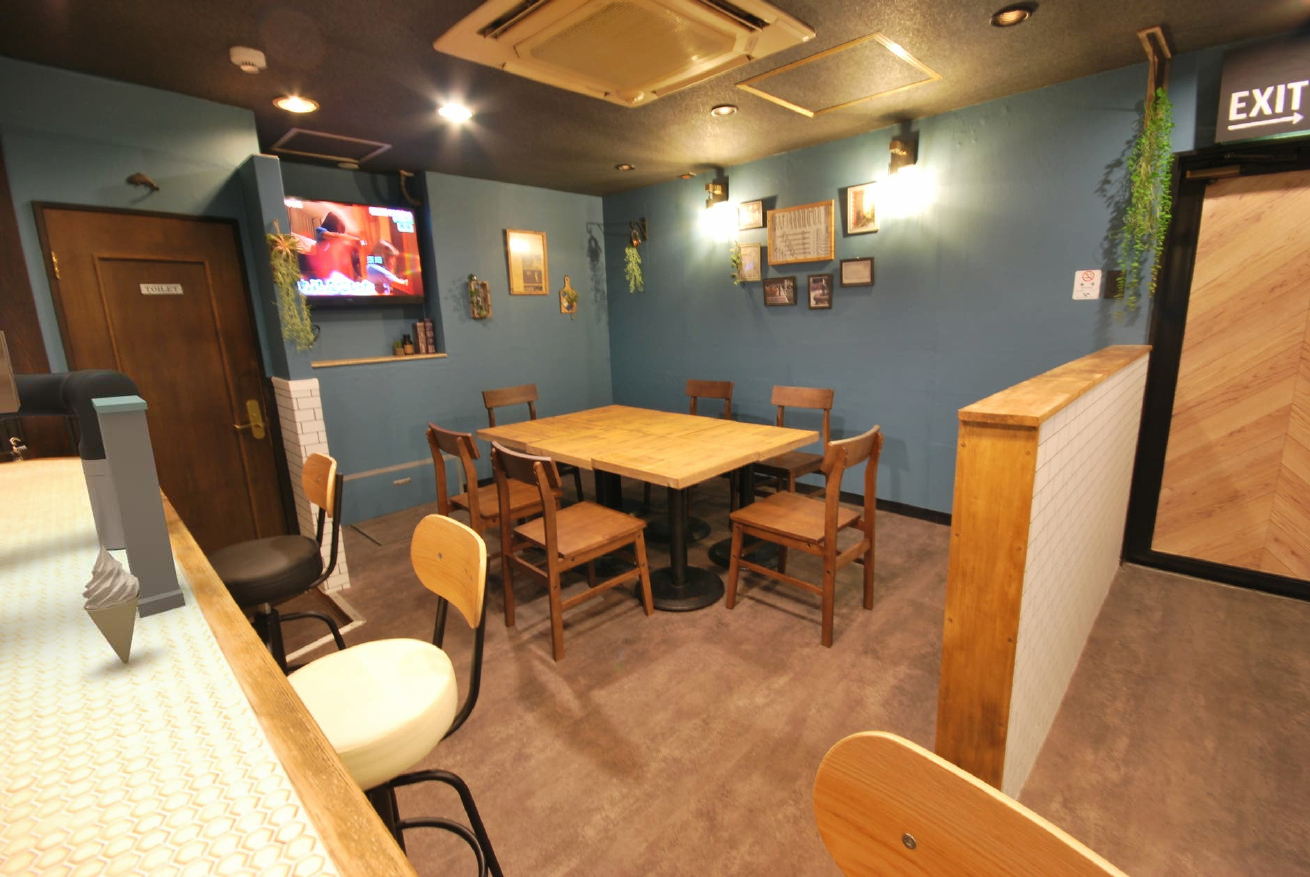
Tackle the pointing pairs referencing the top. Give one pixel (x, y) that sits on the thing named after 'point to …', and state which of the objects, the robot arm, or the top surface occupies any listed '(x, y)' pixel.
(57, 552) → the top surface
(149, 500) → the stand
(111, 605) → the ice cream cone
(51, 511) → the top surface
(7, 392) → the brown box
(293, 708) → the top surface
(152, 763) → the top surface
